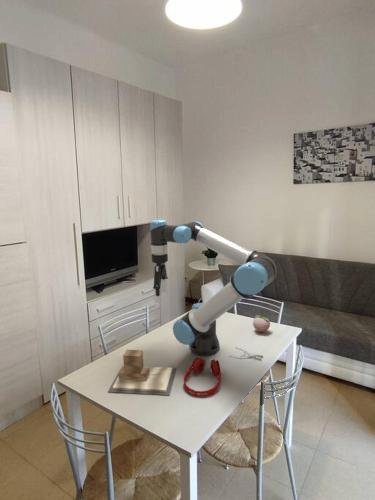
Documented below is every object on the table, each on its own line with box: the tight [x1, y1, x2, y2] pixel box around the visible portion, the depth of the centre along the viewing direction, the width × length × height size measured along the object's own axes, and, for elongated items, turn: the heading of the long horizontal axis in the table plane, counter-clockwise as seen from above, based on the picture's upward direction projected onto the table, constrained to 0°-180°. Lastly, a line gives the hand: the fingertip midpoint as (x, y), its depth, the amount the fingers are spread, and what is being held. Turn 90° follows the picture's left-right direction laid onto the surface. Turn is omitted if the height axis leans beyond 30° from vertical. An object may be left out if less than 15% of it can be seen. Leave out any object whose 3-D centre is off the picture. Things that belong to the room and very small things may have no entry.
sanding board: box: [107, 366, 177, 397], centre depth 140 cm, size 25×19×2 cm
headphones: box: [183, 356, 223, 398], centre depth 137 cm, size 15×7×20 cm
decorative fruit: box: [252, 315, 271, 333], centre depth 181 cm, size 9×8×10 cm
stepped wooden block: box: [118, 349, 150, 381], centre depth 139 cm, size 12×5×11 cm, turn 84°
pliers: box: [228, 346, 264, 362], centre depth 158 cm, size 10×2×15 cm
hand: (161, 296), depth 157 cm, fingers open, 13 cm apart
